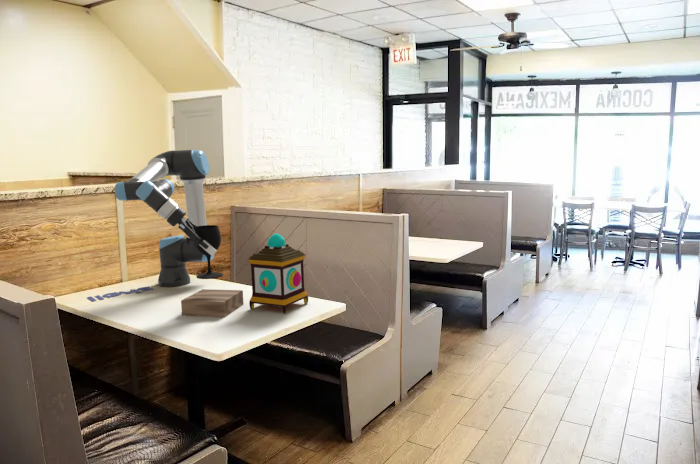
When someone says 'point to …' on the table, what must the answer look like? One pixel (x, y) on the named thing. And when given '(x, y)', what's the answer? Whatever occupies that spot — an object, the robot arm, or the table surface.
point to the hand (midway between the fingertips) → (215, 250)
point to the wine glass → (214, 239)
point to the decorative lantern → (277, 275)
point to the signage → (119, 293)
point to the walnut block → (212, 303)
